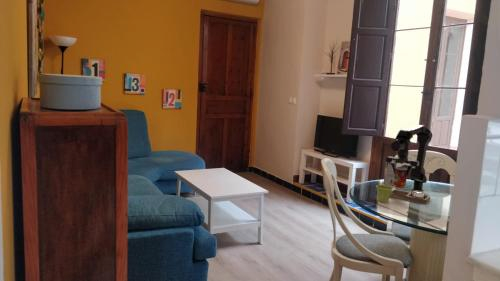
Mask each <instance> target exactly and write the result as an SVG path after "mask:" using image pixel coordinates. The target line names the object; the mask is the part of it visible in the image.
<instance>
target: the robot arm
mask: <svg viewBox="0 0 500 281" xmlns="http://www.w3.org/2000/svg"><path fill="white" fill-rule="evenodd" d="M415 135H416V136H417V141H418V150H417V154H416V160H415V159H412V160H409V152H410V151H409V150H410V143H412V141H411V139H413V138H414V136H415ZM432 138H433V133H432V131H431V130H430V129H429V128H427V126H426V125H424V124H416V125H415V126H413V127H409V128H403V129H402V128H401V129H400V130H399V131H398V132H397V135H396V137H395V139H394V141H393V142H391V145H390V148H391V150H392V151H394V152H397V154H396V156H390V155H389V156H387V157H386V158H385V163H386V162H389V164H391V165H392V168H393V171H394V174H395V168H396V167H397V165H396V163H397V164H401V165H402V164H407V175H406V176H407V177H408V175H409V174H410V181H413V186H412V189H411V191H412V192H413V191H422V192H424V189H423V186H424V184H426V183H427V182H428V179H427V176H426V170H425V167H424V165H425V159H426V155H427V149H428V145H429V144H430V143H431V141H432Z"/></svg>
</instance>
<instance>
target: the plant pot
mask: <svg viewBox="0 0 500 281" xmlns="http://www.w3.org/2000/svg"><path fill="white" fill-rule="evenodd" d="M375 187H376V192H377V193H376V194H377V196H376V198H377V201H378V202H380V203H389V200H390V198H391V197H390V194H391V191H392V189H394V188H393V187H392V186H391V185H385V184H377V185H376V186H375Z"/></svg>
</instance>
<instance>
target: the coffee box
mask: <svg viewBox="0 0 500 281" xmlns="http://www.w3.org/2000/svg"><path fill="white" fill-rule="evenodd" d="M397 164H398V163H396V166H397ZM394 176H395V174H394V171H393V168H392V165H391V164H389V162H386V161H385V165H384V174H383V183H384V185H386V186H394Z"/></svg>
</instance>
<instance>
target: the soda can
mask: <svg viewBox="0 0 500 281" xmlns="http://www.w3.org/2000/svg"><path fill="white" fill-rule="evenodd" d="M407 170H408V168H406V167H405V166H396V168H395V176H394V185H393V186H394V188H399V189H404V188H405V187H406V185H407V178H408V176H406V175H407Z"/></svg>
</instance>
